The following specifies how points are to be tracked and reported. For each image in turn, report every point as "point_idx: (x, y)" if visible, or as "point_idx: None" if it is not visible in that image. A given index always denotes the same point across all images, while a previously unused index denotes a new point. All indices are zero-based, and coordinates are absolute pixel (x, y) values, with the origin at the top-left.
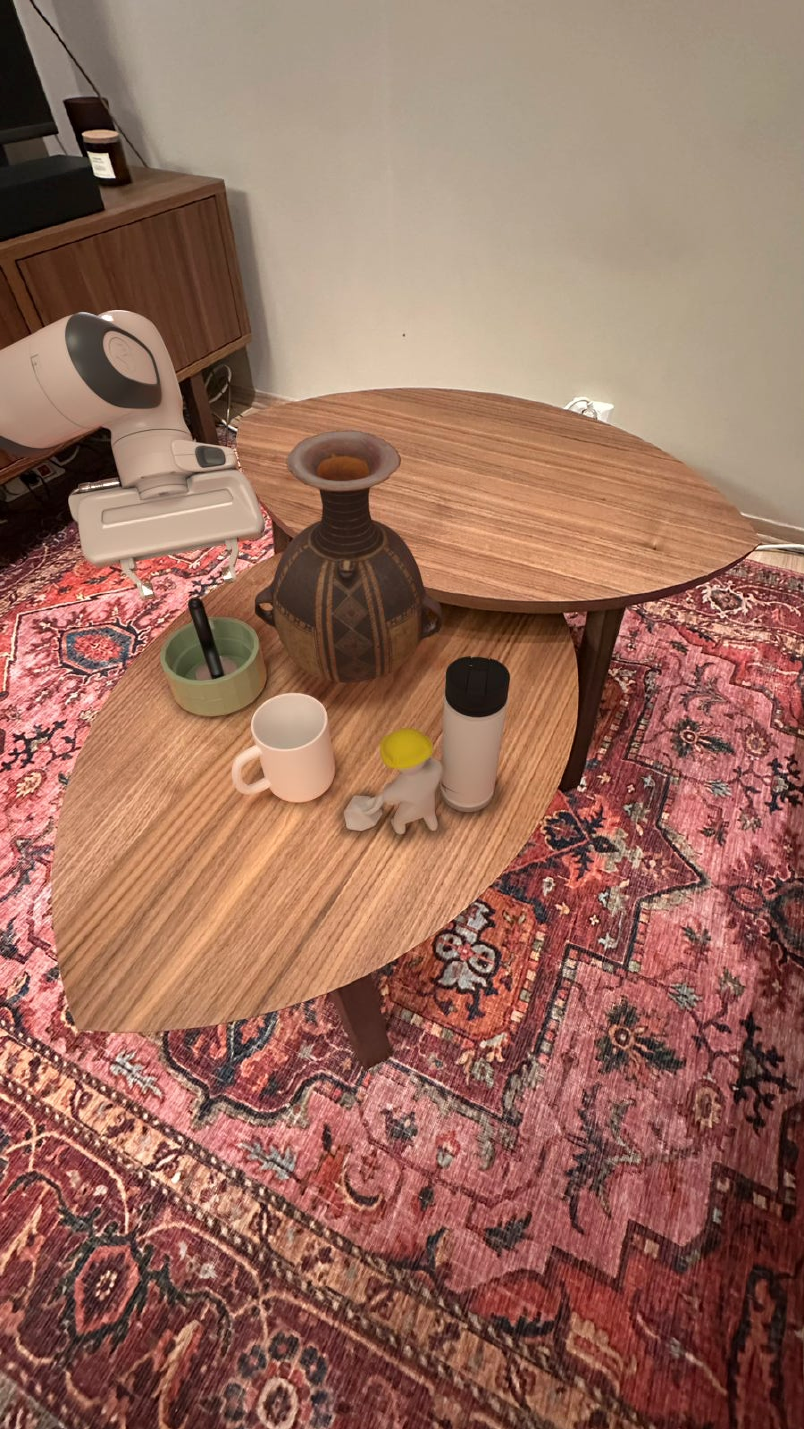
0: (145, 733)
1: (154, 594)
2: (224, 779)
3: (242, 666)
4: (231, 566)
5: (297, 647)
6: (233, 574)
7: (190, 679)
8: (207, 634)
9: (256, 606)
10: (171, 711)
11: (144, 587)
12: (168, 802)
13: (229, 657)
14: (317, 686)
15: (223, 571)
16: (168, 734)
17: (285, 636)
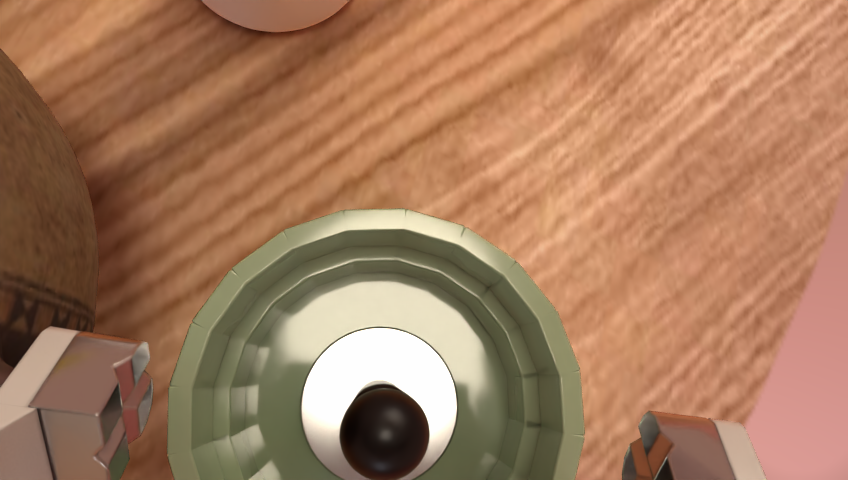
0: (647, 297)
1: (631, 472)
2: (472, 32)
3: (289, 248)
4: (13, 392)
5: (32, 109)
6: (47, 346)
7: (469, 457)
8: (373, 385)
9: None
10: None
11: (717, 465)
12: (626, 30)
13: (314, 454)
14: None
15: (101, 386)
16: (583, 261)
17: (47, 180)
